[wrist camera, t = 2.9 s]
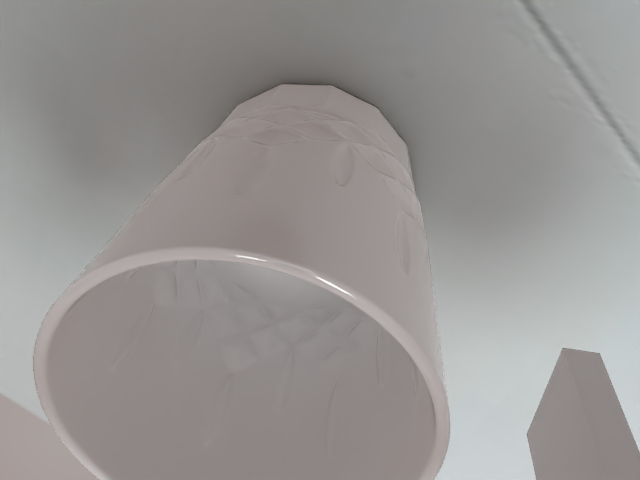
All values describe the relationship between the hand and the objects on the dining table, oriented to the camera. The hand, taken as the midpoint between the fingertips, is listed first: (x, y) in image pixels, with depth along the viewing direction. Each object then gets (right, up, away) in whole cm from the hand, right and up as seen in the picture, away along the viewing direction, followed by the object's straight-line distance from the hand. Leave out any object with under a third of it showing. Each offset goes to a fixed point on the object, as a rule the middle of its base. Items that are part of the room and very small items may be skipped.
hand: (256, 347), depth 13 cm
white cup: (+1, +4, +6) cm, 8 cm away
